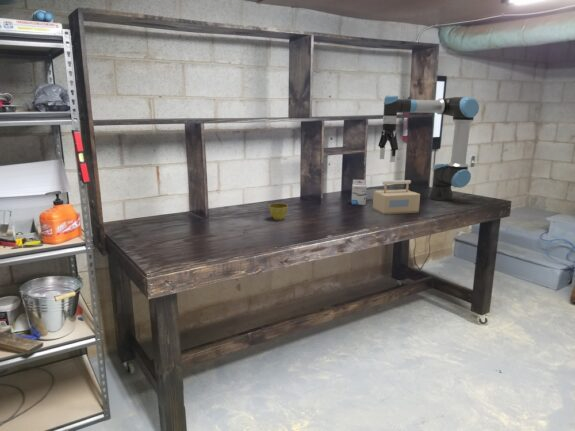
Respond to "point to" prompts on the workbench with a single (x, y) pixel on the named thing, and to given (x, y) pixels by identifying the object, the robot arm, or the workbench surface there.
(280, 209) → the flower pot
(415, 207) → the carton
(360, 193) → the ink box
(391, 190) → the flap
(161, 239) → the workbench surface
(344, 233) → the workbench surface
